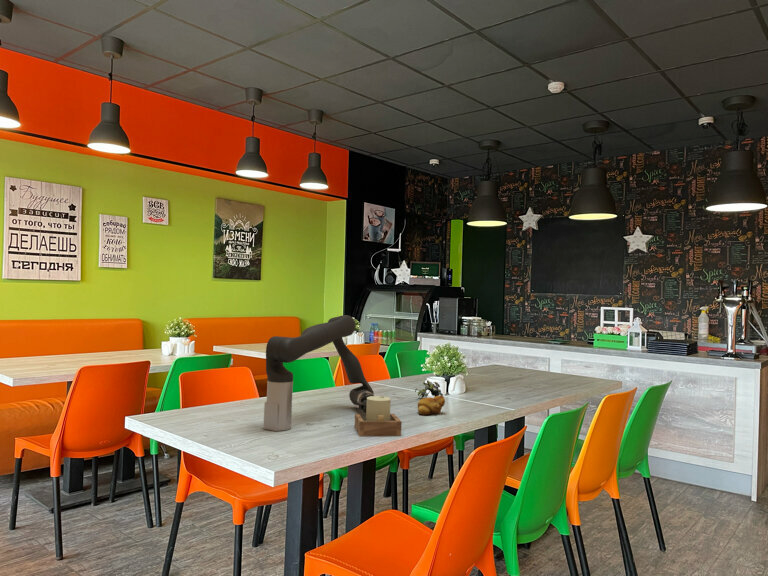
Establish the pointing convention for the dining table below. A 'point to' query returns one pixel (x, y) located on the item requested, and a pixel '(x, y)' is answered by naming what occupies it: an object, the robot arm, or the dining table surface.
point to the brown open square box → (378, 426)
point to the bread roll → (431, 405)
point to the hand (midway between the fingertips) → (374, 410)
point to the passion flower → (431, 387)
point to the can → (378, 408)
